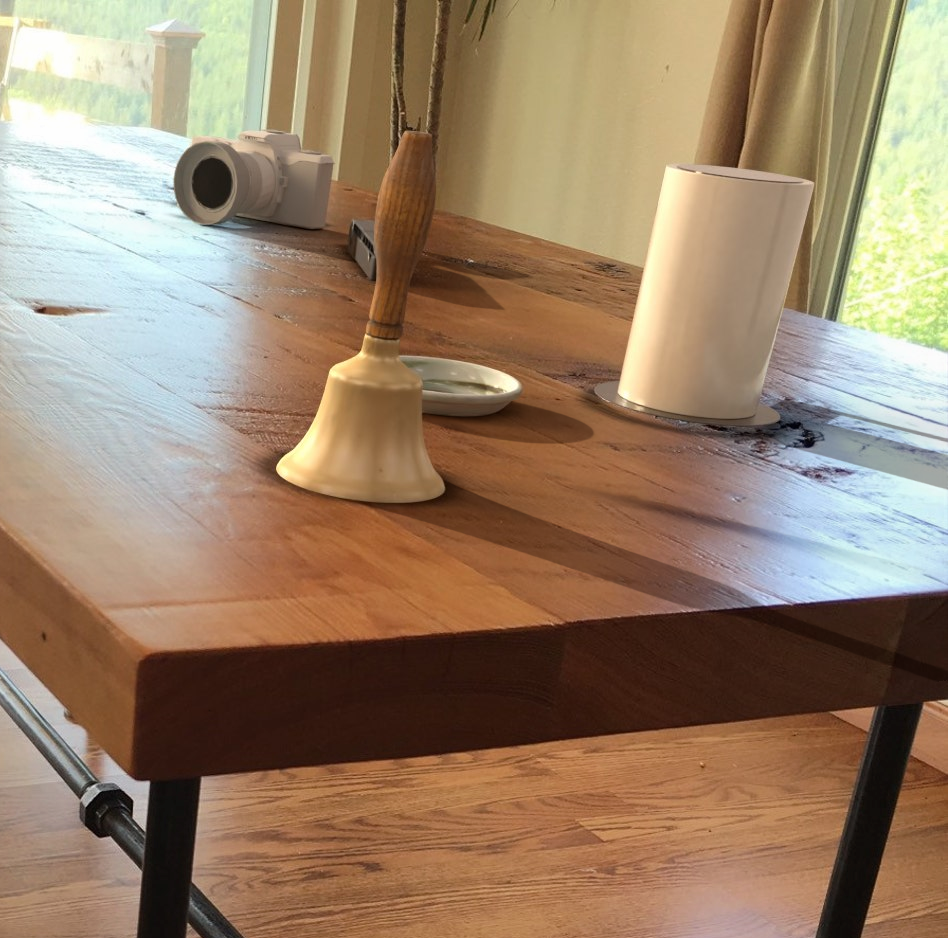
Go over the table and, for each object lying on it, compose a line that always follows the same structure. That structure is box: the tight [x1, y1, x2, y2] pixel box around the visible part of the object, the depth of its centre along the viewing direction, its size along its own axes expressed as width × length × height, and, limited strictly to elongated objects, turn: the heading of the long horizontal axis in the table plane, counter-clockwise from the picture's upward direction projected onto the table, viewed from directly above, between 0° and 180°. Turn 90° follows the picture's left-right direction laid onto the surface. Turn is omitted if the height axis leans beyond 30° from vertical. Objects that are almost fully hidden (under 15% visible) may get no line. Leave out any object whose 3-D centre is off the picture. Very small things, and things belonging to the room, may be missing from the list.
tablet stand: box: [347, 218, 377, 282], centre depth 143 cm, size 18×3×3 cm, turn 0°
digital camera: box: [173, 129, 335, 230], centre depth 163 cm, size 17×14×10 cm
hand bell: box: [275, 130, 446, 504], centre depth 76 cm, size 8×8×16 cm
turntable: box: [593, 380, 781, 427], centre depth 100 cm, size 11×11×1 cm
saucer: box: [399, 355, 523, 417], centre depth 94 cm, size 10×10×2 cm
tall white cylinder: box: [618, 163, 815, 419], centre depth 98 cm, size 13×8×13 cm, turn 143°
